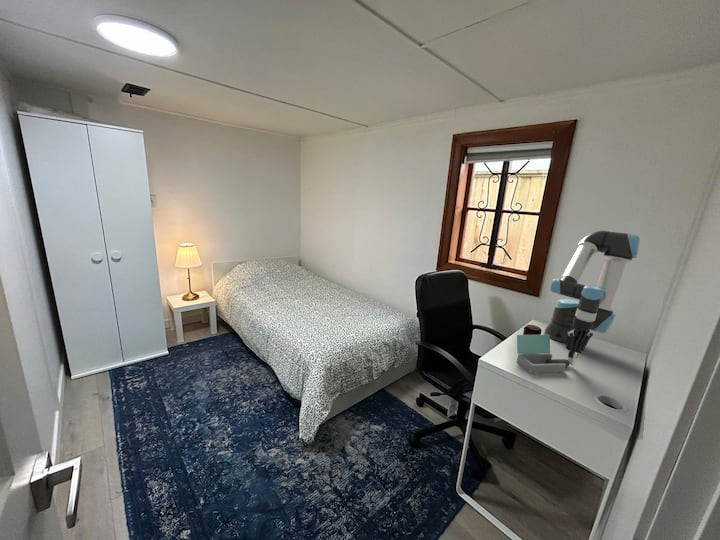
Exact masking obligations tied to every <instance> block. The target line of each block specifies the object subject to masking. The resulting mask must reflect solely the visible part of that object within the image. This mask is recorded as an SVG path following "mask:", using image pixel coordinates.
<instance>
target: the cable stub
mask: <svg viewBox="0 0 720 540" xmlns="http://www.w3.org/2000/svg"><path fill="white" fill-rule="evenodd" d="M553 363H565V364H566V367H570V364H569V361H568V358H562V359H561V358H560V359H559V358H557V359H555V358H553V359H552V358H551V359H548V360H546V362H545V364H553Z"/></svg>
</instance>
